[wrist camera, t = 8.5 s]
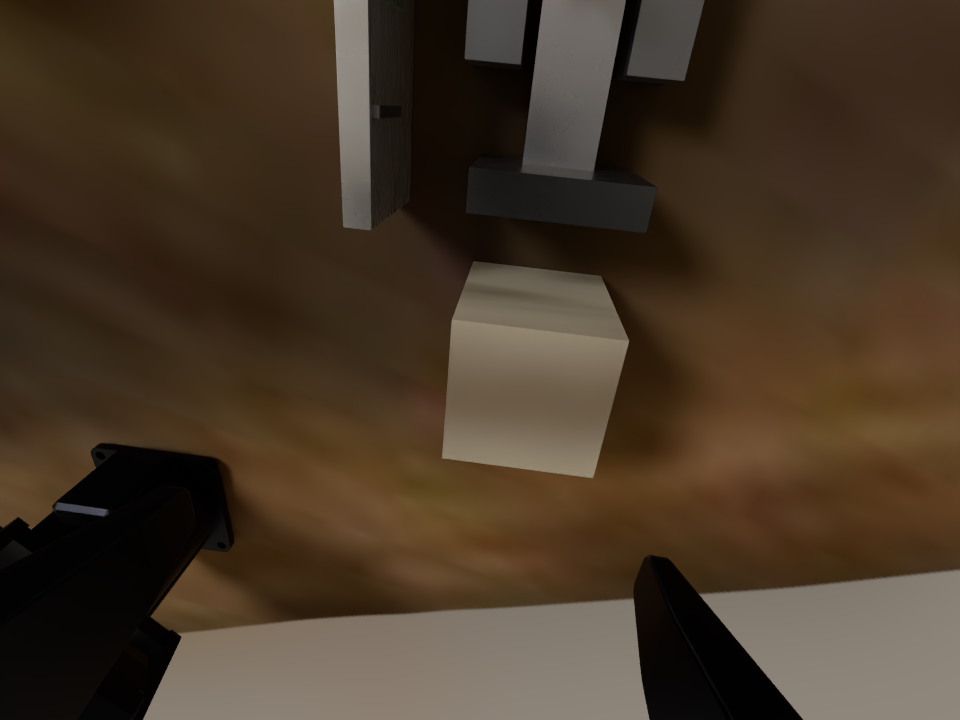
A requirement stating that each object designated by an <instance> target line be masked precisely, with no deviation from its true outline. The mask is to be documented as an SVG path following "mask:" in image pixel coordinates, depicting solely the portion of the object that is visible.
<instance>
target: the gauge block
mask: <svg viewBox="0 0 960 720" xmlns="http://www.w3.org/2000/svg"><path fill="white" fill-rule="evenodd" d="M628 344H629V339H628V337H627V335H626V332H625V330H624V328H623V326H622V323H621V321H620V319H619V316H618V314H617V312H616V309H615V307H614V305H613V302H612V300H611V298H610V295H609V293H608V291H607V288H606V286H605V284H604V281H603V279H602V277H601V276H597V275H588V274H580V273H571V272H563V271H554V270H546V269H537V268H528V267H520V266H511V265H503V264H494V263H486V262H477V261H473V264H472V267H471V269H470V272H469V275H468V277H467V280H466V283H465V286H464V288H463V291H462V294H461V297H460V299H459V302H458V305H457V307H456V310H455V313H454V316H453V318H452V327H451V341H450V355H449V370H448V384H447V398H446V412H445V426H444V440H443V455H442V458H445V459H453V460H460V461H468V462H475V463H483V464H490V465H498V466H505V467H513V468H521V469H528V470H536V471H543V472H551V473H558V474H566V475H573V476H581V477H588V478H593V477H594V473H595V469H596V465H597V462H598V458H599V454H600V450H601V446H602V443H603V439H604V435H605V431H606V427H607V424H608V420H609V416H610V412H611V408H612V405H613V401H614V397H615V393H616V389H617V386H618V382H619V378H620V374H621V370H622V367H623V363H624V359H625V355H626V351H627V348H628Z"/></svg>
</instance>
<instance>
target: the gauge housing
mask: <svg viewBox="0 0 960 720" xmlns="http://www.w3.org/2000/svg"><path fill="white" fill-rule="evenodd" d="M704 1H705V0H629V3H628V8H627V13H626V18H625V23H624V29H623V34H622V39H621V44H620V49H619V55H618V60H617V65H616V70H615V76H614V80H622V81H632V82H642V83H652V84H662V85H664V84H670V83H675V82H681V81H684V80H685V76H686V72H687V68H688V64H689V60H690V56H691V52H692V48H693V44H694V40H695V36H696V32H697V28H698V24H699V20H700V16H701V13H702V9H703V5H704ZM414 2H415V0H334V12H335V37H336V61H337V85H338V109H339V134H340V158H341V182H342V206H343V227H346V228H355V229H364V230H372V229H374V228H375V227H376V226H378V225H379V224H380V223H381V222H383V221H384V220H385V219H387V218H388V217H389V216H391V215H392V214H393V213H394V212H396V211H397V210H398V209H400V208H401V207H402V206H404V205H405V204H406V203H407V202H409V201H410V181H411V136H412V91H413V47H414ZM529 2H530V0H468V14H467V29H466V45H465V60H467V61H468V62H469V63H471V64H472V65H473V66H483V67H493V68H503V69H513V70H522V64H523V55H524V46H525V38H526V29H527V20H528V11H529Z"/></svg>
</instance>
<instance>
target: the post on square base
mask: <svg viewBox="0 0 960 720" xmlns="http://www.w3.org/2000/svg"><path fill="white" fill-rule="evenodd" d="M625 3H626V0H543V2H542V10H541V18H540V26H539V34H538V43H537V51H536V59H535V67H534V75H533V83H532V91H531V99H530V107H529V115H528V123H527V131H526V140H525V148H524V156H523V158H521V157H512V156H502V155H493V154H484V153H483V154H482V155H481V156H480V157H479V158H478V159H477V160H476V161H475V162H474V163H473V164H472V165H471V166H470V167H469V176H468V189H467V202H466V213H471V214H480V215H489V216H497V217H506V218H515V219H524V220H533V221H542V222H551V223H560V224H569V225H577V226H586V227H595V228H604V229H613V230H622V231H631V232H640V233H646V231H647V227H648V223H649V219H650V215H651V211H652V208H653V204H654V200H655V196H656V192H657V188H658V187H656V186H654V185H653V184H651V183H649V182H648V181H646V180H645V179H643V178H641V177H640V176H638V175H637V174H635V173H633V172H632V171H630V170H628V169H623V168H614V167H604V166H595V161H596V156H597V151H598V145H599V140H600V135H601V130H602V124H603V119H604V114H605V108H606V103H607V98H608V93H609V87H610V82H611V77H612V71H613V66H614V61H615V56H616V50H617V45H618V40H619V35H620V29H621V24H622V19H623V13H624V8H625Z"/></svg>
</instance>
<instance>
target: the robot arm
mask: <svg viewBox="0 0 960 720" xmlns="http://www.w3.org/2000/svg"><path fill="white" fill-rule="evenodd" d="M91 456H92V458H93V461H94V464H95V467H96V469H95V470H94V471H92V472H91V473H90V474H89V475H88V476H86V477H85V478H84V479H83V480H82V481H80V482H79V483H78V484H77V485H75V486H74V487H73V488H72V489H71V490H69V491H68V492H67V493H66V494H65V495H63V496H62V497H61V498H60V499H59V500H57V501H56V502H55V503H54V504H53V506H52V508H53V510H54V511H53V512H52V513H51V514H49V515H48V516H47V517H46V518H45V519H44V520H42V521H41V522H40V523H39V524H38V525H36V526H35V527H34V528H33V529H32V530H31V529H29V528H28V526H29V524H27V523H26V522H25V521H23V520H22V519H20V518H19V517H18V518H16V519H15V520H13V521H12V522H10V523H9V524H8V525H6V526H5V527H3V528H2V527H1V526H0V720H143V718H144V716H145V714H146V712H147V710H148V707H149V705H150V703H151V701H152V699H153V697H154V695H155V693H156V690H157V688H158V686H159V684H160V682H161V680H162V677H163V675H164V673H165V671H166V669H167V667H168V665H169V663H170V661H171V659H172V656H173V654H174V652H175V650H176V648H177V646H178V644H179V642H180V639H181V636H180V635H178V634H177V633H176V632H174V631H173V630H170V631H169V630H167V629H166V628H165V627H163V626H162V625H161V624H159V623H158V622H157V621H155V620H154V619H152V618H151V615H152V614H153V613H154V611H155V610H156V609H157V607H158V606H159V605H160V603H161V602H162V600H163V599H164V598H165V596H166V595H167V594H168V592H169V591H170V590H171V588H172V587H173V586H174V584H175V583H176V582H177V580H178V579H179V578H180V576H181V575H182V574H183V572H184V571H185V570H186V568H187V567H188V566H189V564H190V563H191V562H192V560H193V559H194V558H195V556H196V555H197V554H198V552H199V551H200V550H201V549H208V550H215V551H222V552H227V551H229V550H230V548H231V547H232V545H233V544H234V538H233V533H232V529H231V524H230V519H229V514H228V510H227V505H226V500H225V495H224V491H223V486H222V481H221V476H220V471H219V467H218V464H217V463H216V461H215V460H213V459H211V458H208V457H202V456H195V455H187V454H180V453H172V452H165V451H157V450H150V449H143V448H135V447H128V446H120V445H113V444H106V443H100V444H98V445H97V446H96V447H94V448H93V449H92V450H91ZM634 604H635V616H636V626H637V637H638V647H639V657H640V667H641V676H642V683H643V689H644V694H645V699H646V704H647V709H648V714H649V719H650V720H803V719H802V718H801V716H799V714H798V713H797V712H796V711H795V709H794V708H793V707H792V706H791V704H790V703H789V702H788V701H787V700H786V699H785V697H784V696H783V695H782V694H781V693H780V692H779V690H778V689H777V688H776V686H775V685H774V684H773V683H772V682H771V680H770V679H769V678H768V677H767V676H766V674H765V673H764V672H763V671H762V670H761V669H760V667H759V666H758V665H757V664H756V662H755V661H754V660H753V659H752V658H751V656H750V655H749V654H748V653H747V652H746V650H745V649H744V648H743V647H742V646H741V644H740V643H739V642H738V641H737V640H736V639H735V637H734V636H733V635H732V634H731V632H730V631H729V630H728V629H727V628H726V626H725V625H724V624H723V623H722V622H721V620H720V619H719V618H718V617H717V616H716V615H715V614H714V612H713V611H712V610H711V608H710V607H709V606H708V605H707V604H706V602H705V601H704V600H703V599H702V598H701V596H700V595H699V594H698V593H697V592H696V590H695V589H694V588H693V587H692V586H691V584H690V583H689V582H688V581H687V580H686V578H685V577H684V576H683V575H682V574H681V572H680V571H679V570H678V569H677V568H676V566H675V565H674V564H673V563H672V562H671V561H670V560H669V559H668V558H665V557H660V556H653V555H647V556H646V557H645V558H644V560H643V562H642V565H641V567H640V570H639V573H638V575H637V578H636V580H635V583H634Z"/></svg>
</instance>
